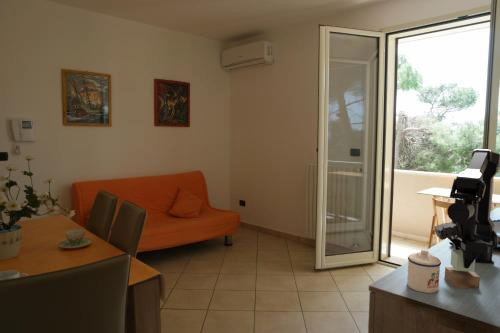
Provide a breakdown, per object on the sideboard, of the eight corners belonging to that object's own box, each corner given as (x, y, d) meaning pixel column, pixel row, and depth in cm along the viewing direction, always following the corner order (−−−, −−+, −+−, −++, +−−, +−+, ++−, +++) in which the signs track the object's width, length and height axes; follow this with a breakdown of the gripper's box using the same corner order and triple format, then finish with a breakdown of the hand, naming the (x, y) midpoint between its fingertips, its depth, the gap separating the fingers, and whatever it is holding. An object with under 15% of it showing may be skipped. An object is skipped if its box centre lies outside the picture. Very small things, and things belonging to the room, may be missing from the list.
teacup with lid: (432, 296, 102) (435, 258, 101) (401, 286, 109) (403, 250, 107) (446, 284, 110) (449, 248, 109) (416, 275, 117) (418, 241, 116)
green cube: (467, 265, 113) (468, 250, 112) (474, 271, 108) (475, 256, 107) (450, 264, 114) (451, 249, 113) (456, 270, 109) (457, 254, 108)
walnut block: (466, 279, 114) (467, 267, 114) (479, 289, 108) (480, 276, 107) (444, 278, 115) (445, 267, 114) (455, 288, 108) (456, 276, 108)
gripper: (428, 208, 119) (425, 252, 121) (449, 222, 101) (445, 275, 103) (464, 209, 117) (461, 254, 119) (492, 224, 99) (487, 278, 101)
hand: (462, 264), depth 111 cm, fingers closed on green cube, 5 cm apart
